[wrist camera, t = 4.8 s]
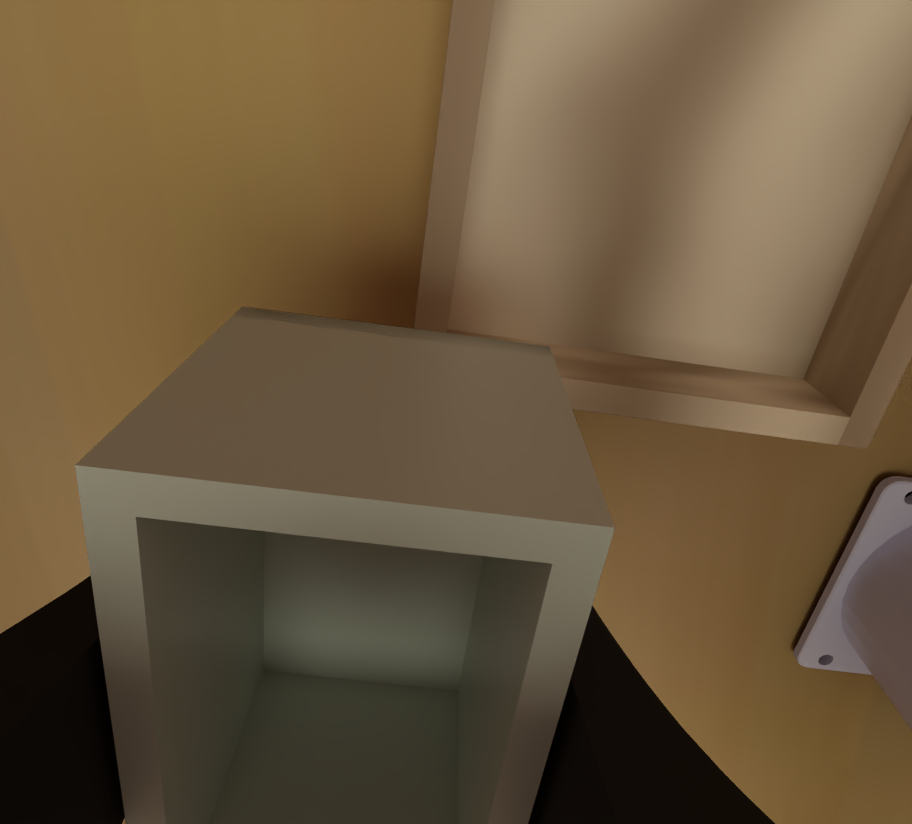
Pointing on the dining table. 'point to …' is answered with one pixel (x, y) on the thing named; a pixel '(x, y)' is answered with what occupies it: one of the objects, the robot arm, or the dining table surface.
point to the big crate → (683, 205)
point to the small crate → (342, 575)
